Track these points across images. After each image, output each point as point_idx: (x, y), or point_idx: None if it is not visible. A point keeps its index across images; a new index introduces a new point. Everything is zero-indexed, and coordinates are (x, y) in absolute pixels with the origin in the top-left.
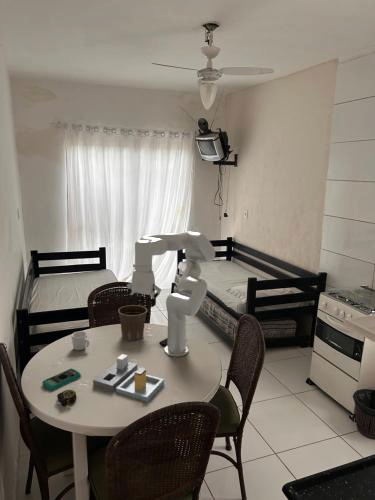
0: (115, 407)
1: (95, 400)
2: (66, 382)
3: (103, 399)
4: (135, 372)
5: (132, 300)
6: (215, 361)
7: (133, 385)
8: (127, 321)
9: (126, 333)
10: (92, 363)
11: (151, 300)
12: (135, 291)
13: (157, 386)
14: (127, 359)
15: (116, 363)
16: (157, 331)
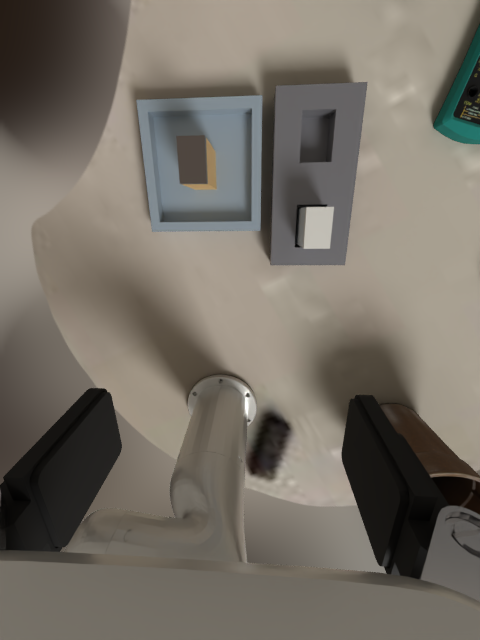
0: (217, 21)
1: (304, 19)
2: (472, 49)
3: (281, 43)
4: (200, 136)
5: (383, 421)
6: None
7: (231, 170)
8: (423, 452)
9: (404, 418)
10: (437, 234)
11: (34, 452)
12: (374, 619)
13: (147, 183)
14: (301, 245)
15: (341, 236)
16: (327, 476)
